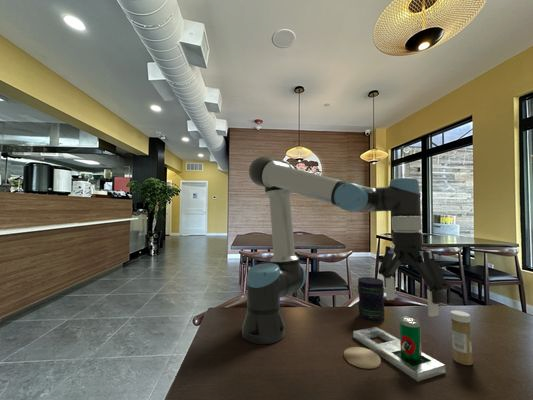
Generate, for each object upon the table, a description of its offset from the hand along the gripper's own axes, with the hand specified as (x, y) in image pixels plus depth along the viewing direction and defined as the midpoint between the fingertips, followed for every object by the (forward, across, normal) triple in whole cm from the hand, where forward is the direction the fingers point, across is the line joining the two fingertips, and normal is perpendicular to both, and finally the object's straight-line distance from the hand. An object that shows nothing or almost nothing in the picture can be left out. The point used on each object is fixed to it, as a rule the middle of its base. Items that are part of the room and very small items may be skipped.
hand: (410, 306), depth 70 cm
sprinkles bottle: (+16, -4, -15) cm, 22 cm away
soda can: (+16, 0, 0) cm, 16 cm away
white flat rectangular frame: (+16, +6, 0) cm, 17 cm away
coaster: (+16, +7, +11) cm, 21 cm away
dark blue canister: (+16, +29, -13) cm, 36 cm away
